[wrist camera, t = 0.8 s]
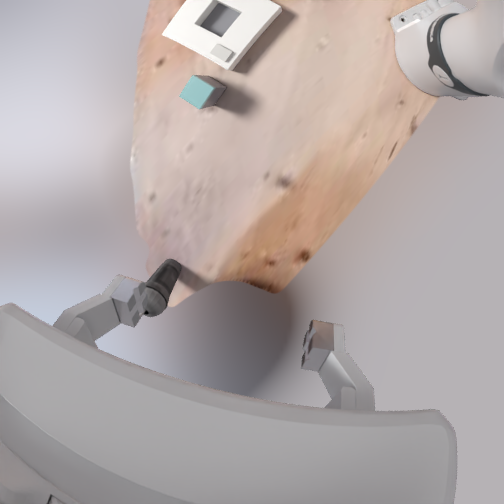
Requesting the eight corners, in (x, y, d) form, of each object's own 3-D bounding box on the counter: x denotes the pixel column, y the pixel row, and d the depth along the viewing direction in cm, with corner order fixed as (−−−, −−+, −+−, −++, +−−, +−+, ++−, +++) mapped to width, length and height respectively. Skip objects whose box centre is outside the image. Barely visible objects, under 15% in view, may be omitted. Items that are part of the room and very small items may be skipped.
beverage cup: (157, 270, 66) (119, 328, 50) (161, 249, 62) (118, 309, 46) (183, 282, 67) (149, 344, 50) (189, 262, 62) (152, 326, 46)
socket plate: (214, -22, 27) (208, -28, 24) (282, 11, 30) (280, 5, 27) (169, 36, 34) (160, 34, 31) (232, 70, 37) (226, 69, 34)
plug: (208, 75, 38) (192, 75, 33) (226, 87, 39) (213, 88, 34) (195, 94, 41) (179, 96, 35) (213, 105, 41) (199, 109, 36)
